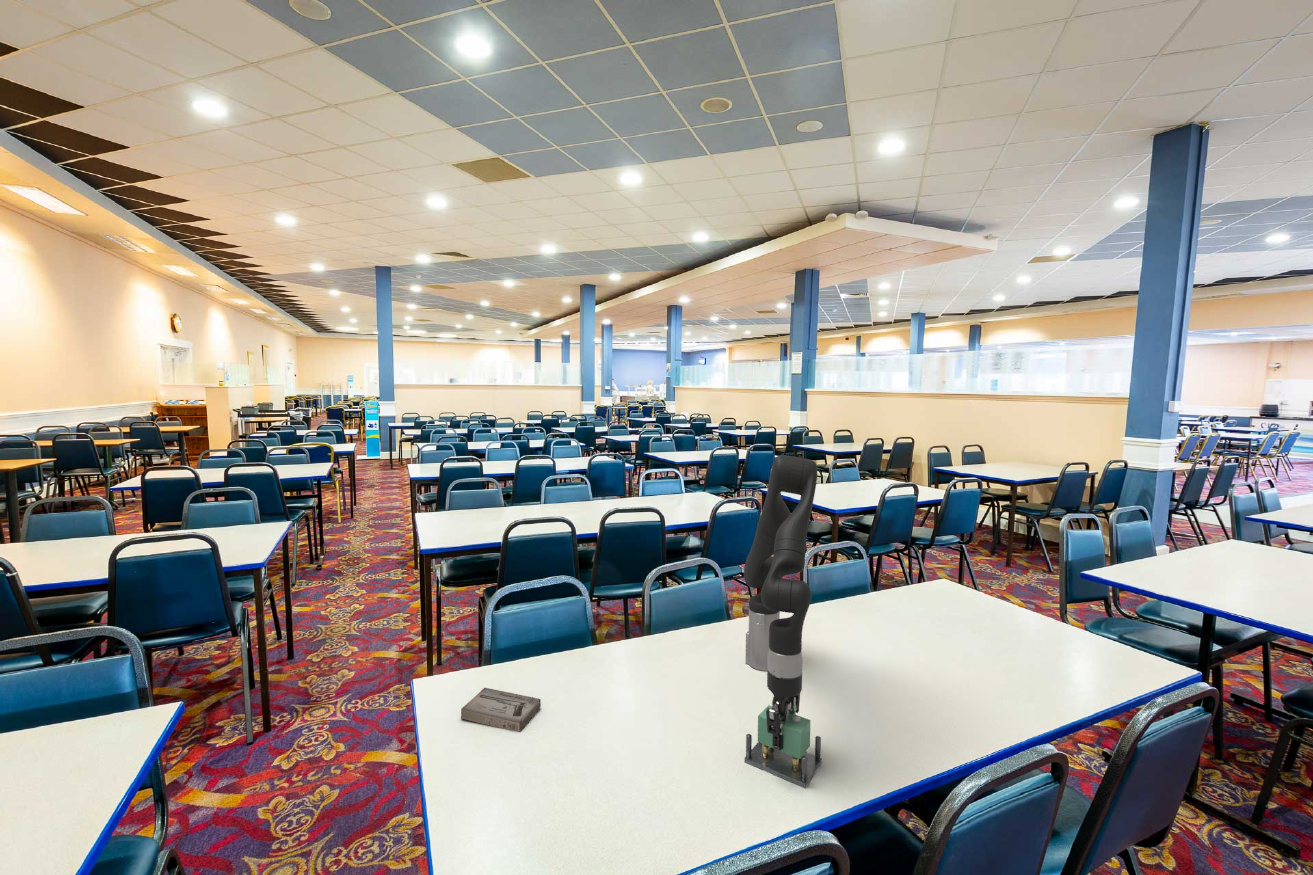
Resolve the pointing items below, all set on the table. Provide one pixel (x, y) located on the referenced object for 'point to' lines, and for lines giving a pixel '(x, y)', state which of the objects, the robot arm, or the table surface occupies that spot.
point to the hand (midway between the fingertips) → (783, 740)
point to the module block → (787, 734)
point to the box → (501, 709)
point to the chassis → (784, 761)
